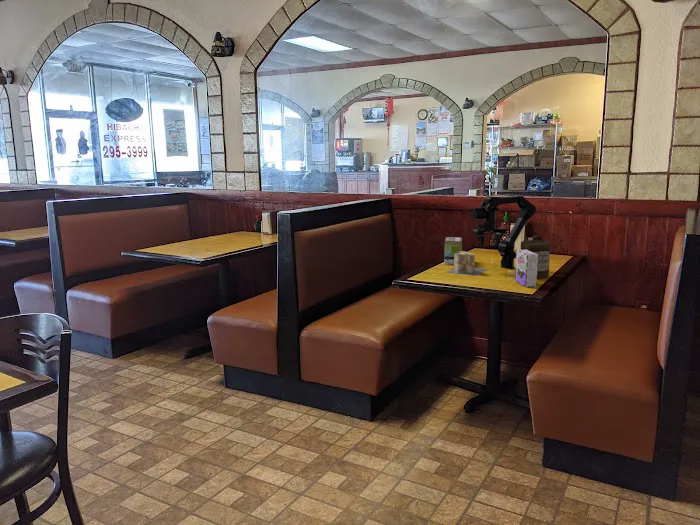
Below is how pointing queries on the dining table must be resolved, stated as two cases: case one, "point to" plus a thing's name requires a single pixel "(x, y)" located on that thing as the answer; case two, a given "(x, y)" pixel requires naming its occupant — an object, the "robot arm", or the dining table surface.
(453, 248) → the tea box
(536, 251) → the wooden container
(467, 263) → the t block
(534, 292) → the dining table surface
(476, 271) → the push board
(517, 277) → the candy box
